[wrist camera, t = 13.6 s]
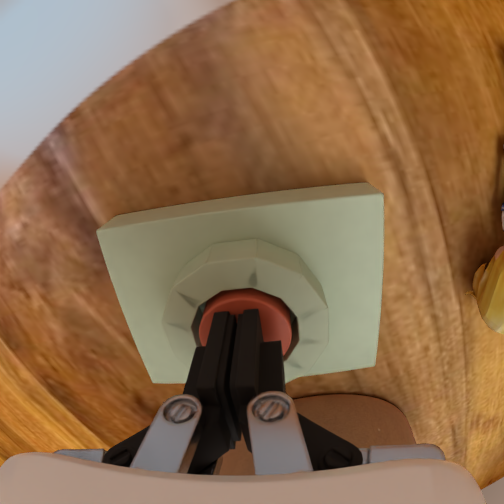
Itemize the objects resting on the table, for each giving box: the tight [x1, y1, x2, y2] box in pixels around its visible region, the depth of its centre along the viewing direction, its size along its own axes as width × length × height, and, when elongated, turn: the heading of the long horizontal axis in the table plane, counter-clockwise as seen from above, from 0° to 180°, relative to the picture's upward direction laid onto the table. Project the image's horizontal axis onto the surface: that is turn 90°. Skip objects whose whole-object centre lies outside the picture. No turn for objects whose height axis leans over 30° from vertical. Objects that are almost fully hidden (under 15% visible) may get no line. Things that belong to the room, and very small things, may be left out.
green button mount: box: [96, 182, 384, 384], centre depth 14 cm, size 12×9×4 cm
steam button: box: [199, 288, 292, 356], centre depth 13 cm, size 4×4×2 cm
